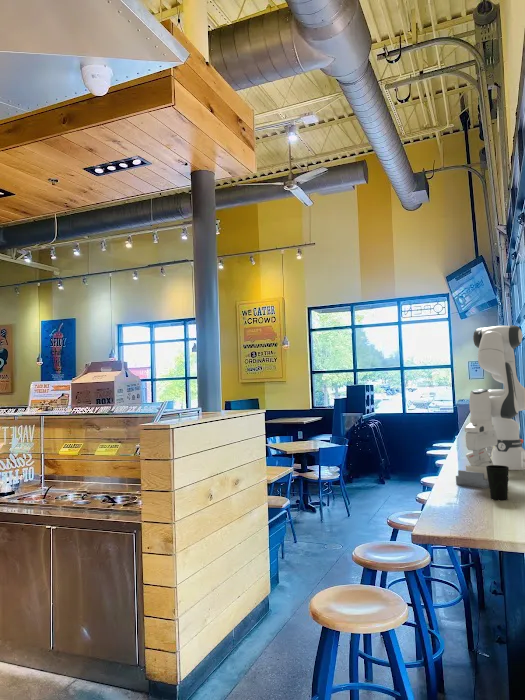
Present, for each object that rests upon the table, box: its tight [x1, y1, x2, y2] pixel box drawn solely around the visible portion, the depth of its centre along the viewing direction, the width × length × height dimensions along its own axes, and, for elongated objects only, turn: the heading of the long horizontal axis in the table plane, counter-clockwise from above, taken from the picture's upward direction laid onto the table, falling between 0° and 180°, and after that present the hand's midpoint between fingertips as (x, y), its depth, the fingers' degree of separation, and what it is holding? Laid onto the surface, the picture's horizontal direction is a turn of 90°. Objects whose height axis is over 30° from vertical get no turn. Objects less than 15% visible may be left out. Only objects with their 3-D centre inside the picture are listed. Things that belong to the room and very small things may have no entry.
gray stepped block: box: [455, 469, 490, 489], centre depth 219 cm, size 16×13×6 cm
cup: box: [486, 465, 510, 502], centre depth 191 cm, size 8×8×12 cm
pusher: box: [465, 465, 488, 479], centre depth 217 cm, size 5×10×7 cm, turn 39°
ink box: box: [465, 448, 494, 467], centre depth 222 cm, size 9×5×12 cm, turn 65°
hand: (483, 458), depth 222 cm, fingers open, 8 cm apart
